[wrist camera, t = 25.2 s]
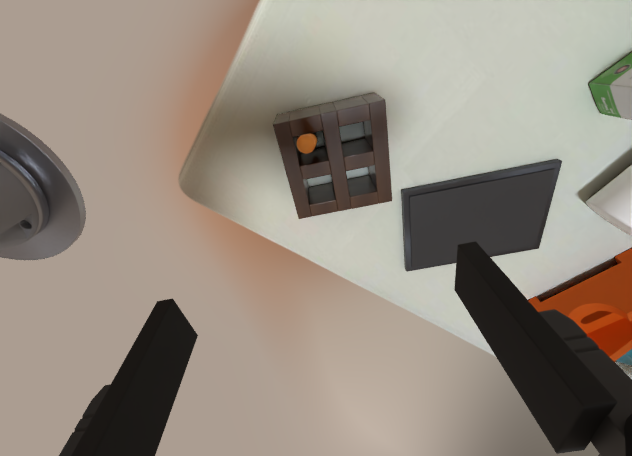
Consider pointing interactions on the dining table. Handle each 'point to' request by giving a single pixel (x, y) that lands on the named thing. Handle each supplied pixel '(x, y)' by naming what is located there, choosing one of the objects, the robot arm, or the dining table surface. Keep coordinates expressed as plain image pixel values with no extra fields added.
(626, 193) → the mug
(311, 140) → the stylus
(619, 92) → the ink box
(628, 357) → the vase
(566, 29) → the dining table surface
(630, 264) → the orange slotted block
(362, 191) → the pen stand
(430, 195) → the tablet
